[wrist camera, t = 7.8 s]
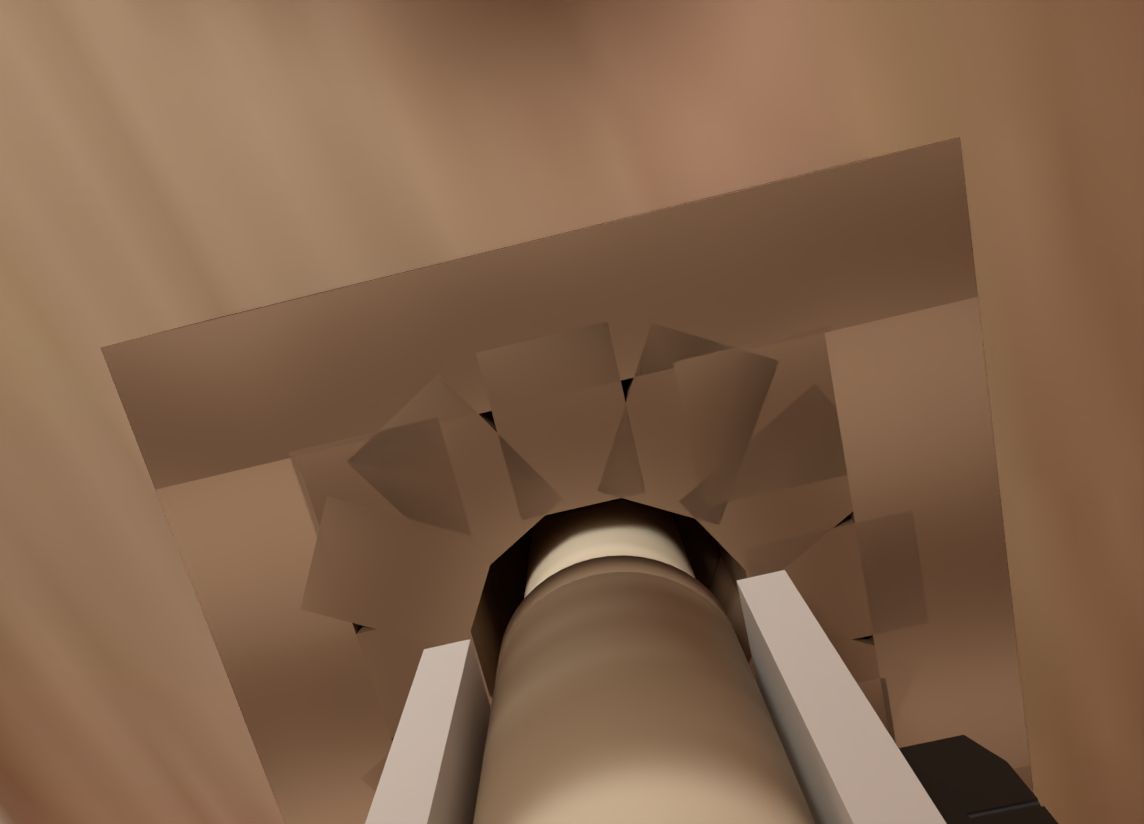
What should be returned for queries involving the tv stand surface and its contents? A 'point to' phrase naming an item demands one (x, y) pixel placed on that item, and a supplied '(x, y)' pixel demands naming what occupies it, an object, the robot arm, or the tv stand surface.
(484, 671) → the beige flat square block
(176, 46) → the tv stand surface
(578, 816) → the leg peg
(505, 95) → the tv stand surface
